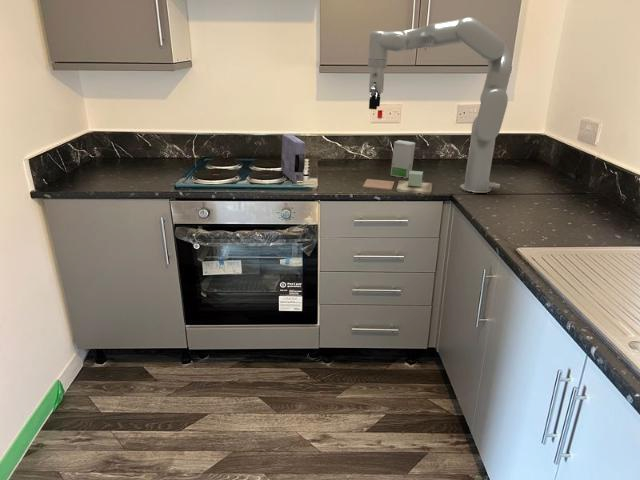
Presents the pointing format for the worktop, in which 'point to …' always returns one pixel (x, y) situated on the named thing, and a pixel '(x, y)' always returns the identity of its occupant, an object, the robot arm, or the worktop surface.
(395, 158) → the skincare box
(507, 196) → the worktop surface
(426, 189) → the post stand
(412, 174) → the grey green cube
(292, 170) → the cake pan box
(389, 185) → the terracotta tile
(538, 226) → the worktop surface
